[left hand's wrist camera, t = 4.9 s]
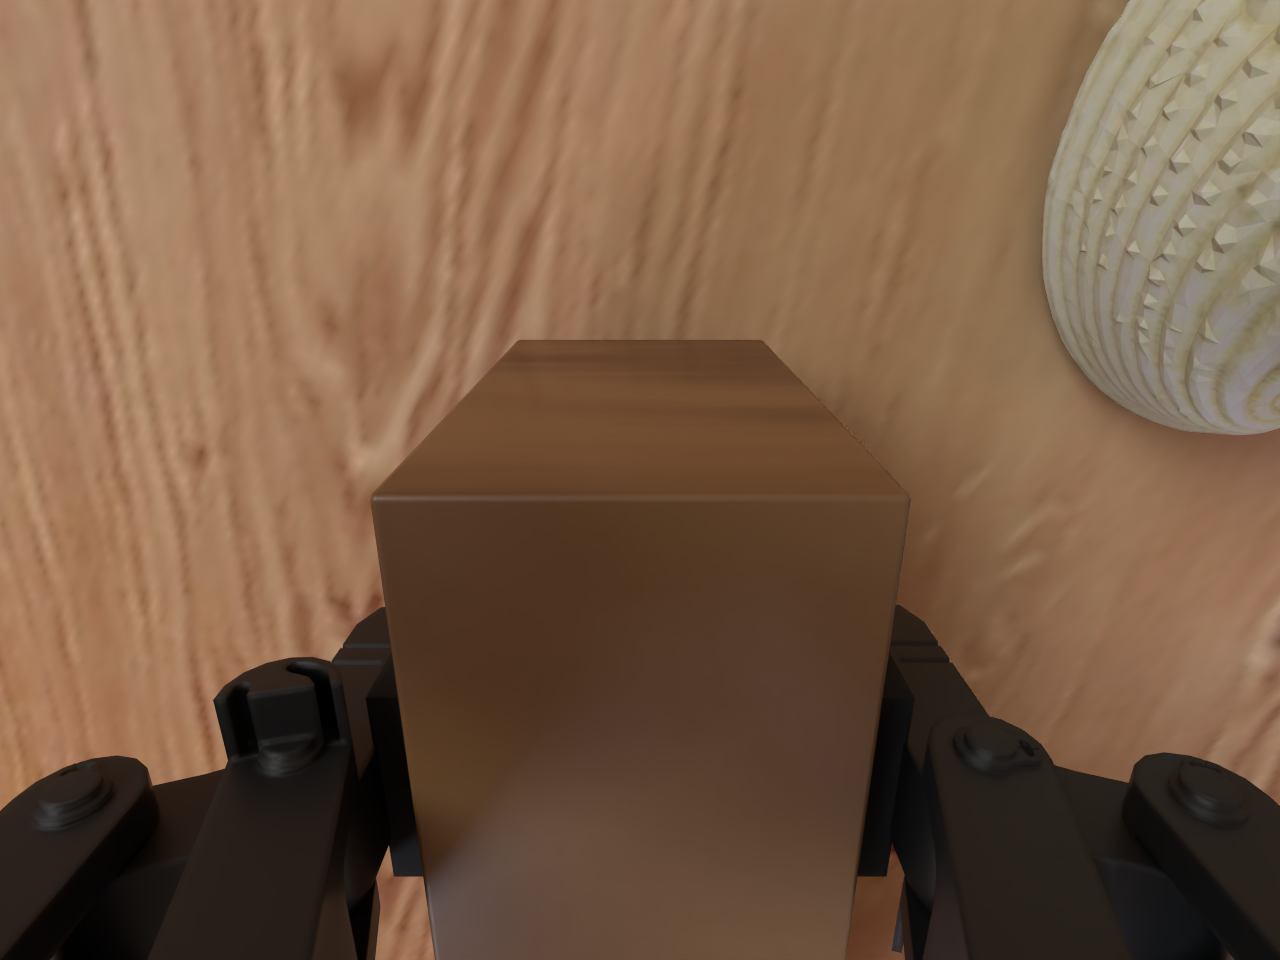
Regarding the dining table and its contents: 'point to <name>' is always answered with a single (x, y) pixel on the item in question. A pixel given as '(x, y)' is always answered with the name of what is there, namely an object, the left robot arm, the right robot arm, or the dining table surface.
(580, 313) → the dining table surface
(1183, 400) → the seashell
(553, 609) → the bar
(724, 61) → the dining table surface
